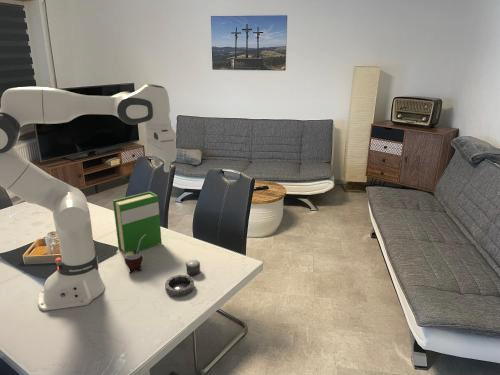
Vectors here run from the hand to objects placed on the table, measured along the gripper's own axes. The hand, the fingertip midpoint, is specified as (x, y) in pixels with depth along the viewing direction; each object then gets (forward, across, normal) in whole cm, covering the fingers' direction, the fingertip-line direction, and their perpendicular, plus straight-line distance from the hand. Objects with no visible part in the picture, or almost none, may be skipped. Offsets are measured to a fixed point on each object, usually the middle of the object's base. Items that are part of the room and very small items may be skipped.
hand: (161, 168), depth 139 cm
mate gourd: (+45, -10, -11) cm, 47 cm away
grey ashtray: (+44, +12, -1) cm, 46 cm away
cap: (+44, +5, +8) cm, 45 cm away
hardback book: (+45, -28, -3) cm, 53 cm away
